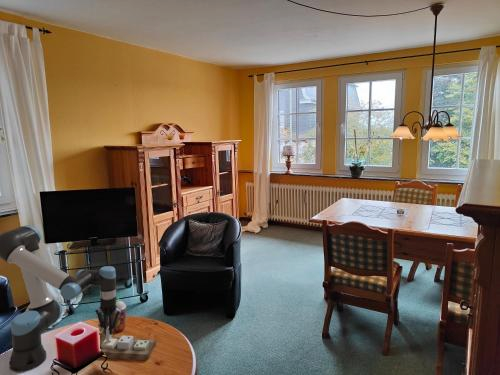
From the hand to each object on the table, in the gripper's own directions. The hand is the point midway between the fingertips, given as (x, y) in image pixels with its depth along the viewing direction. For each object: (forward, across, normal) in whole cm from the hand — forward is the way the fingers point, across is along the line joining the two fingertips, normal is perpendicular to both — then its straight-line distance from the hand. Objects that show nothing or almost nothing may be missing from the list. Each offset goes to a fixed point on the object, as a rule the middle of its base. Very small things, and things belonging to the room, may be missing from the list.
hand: (108, 339), depth 176 cm
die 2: (+3, +9, 0) cm, 9 cm away
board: (+5, +9, 0) cm, 10 cm away
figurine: (+6, -6, +10) cm, 13 cm away
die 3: (+5, +17, 0) cm, 18 cm away
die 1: (+5, 0, 0) cm, 5 cm away
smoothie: (+6, -3, +19) cm, 20 cm away
